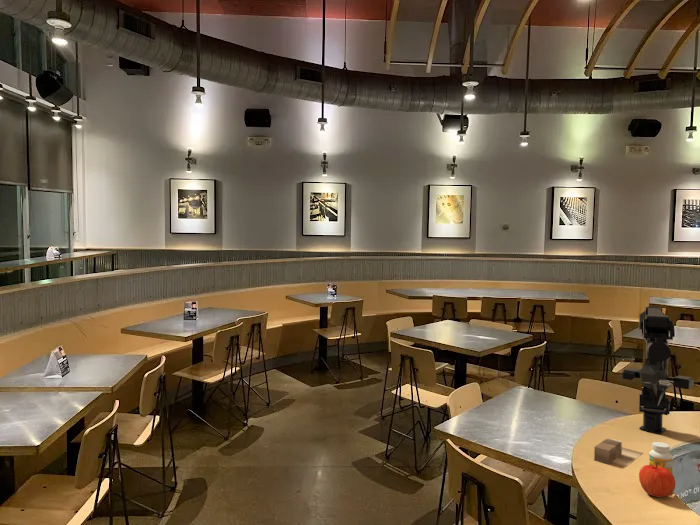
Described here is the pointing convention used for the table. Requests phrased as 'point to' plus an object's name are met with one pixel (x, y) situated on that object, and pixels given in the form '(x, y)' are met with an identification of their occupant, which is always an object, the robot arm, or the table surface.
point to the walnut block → (608, 450)
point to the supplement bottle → (661, 456)
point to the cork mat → (627, 457)
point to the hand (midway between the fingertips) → (656, 405)
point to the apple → (657, 480)
